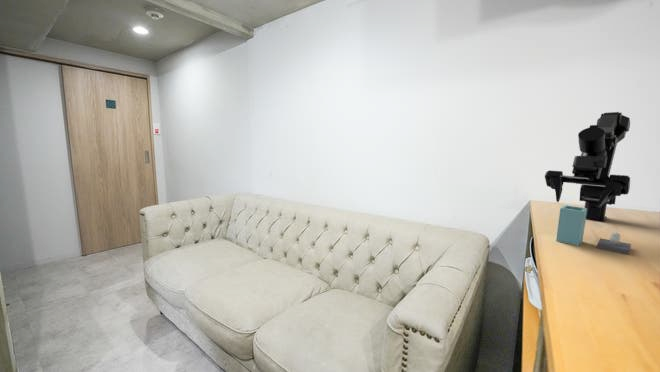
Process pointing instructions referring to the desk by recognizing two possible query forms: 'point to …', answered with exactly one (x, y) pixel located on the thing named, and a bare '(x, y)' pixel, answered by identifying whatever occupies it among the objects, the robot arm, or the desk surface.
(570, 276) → the desk surface
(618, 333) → the desk surface
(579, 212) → the teal sleeve
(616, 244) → the dark grey square plate
